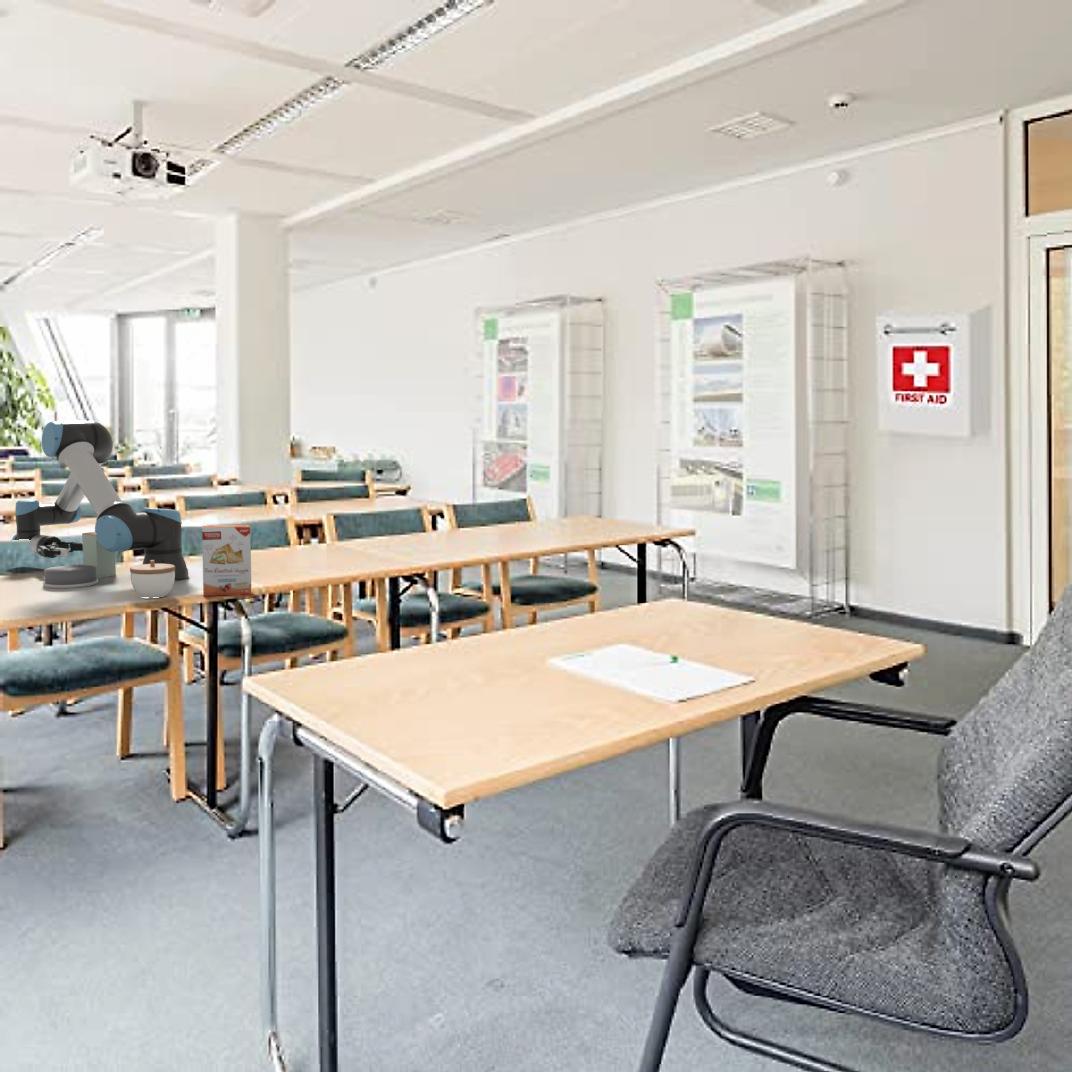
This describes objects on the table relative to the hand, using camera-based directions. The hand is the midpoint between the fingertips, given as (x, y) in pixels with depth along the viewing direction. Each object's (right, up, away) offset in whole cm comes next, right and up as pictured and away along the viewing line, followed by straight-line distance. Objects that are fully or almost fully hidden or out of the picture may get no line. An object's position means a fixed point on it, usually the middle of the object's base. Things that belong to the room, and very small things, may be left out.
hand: (86, 550), depth 352 cm
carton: (+6, -8, -3) cm, 10 cm away
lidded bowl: (+38, -13, -41) cm, 57 cm away
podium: (+4, -10, -20) cm, 23 cm away
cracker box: (+58, -13, -35) cm, 69 cm away
